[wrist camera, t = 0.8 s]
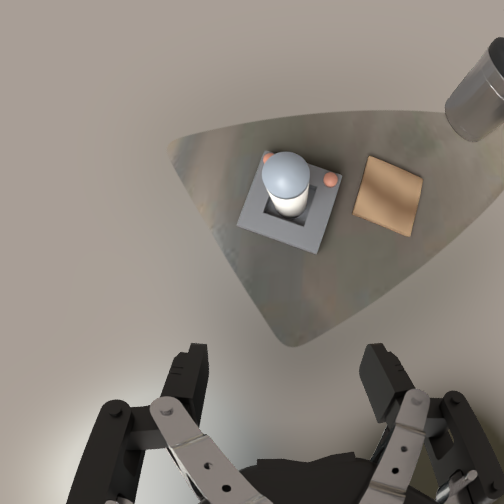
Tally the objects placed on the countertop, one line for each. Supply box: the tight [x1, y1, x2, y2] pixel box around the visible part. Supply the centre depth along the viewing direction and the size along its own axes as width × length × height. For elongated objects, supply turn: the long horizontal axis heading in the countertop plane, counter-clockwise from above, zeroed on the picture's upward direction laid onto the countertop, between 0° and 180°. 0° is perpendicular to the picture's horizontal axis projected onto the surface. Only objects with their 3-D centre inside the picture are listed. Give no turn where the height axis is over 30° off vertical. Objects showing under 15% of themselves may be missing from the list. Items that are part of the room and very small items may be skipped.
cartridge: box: [262, 152, 310, 219], centre depth 31 cm, size 4×4×13 cm
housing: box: [237, 151, 342, 255], centre depth 36 cm, size 11×11×4 cm
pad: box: [352, 156, 423, 237], centre depth 35 cm, size 9×9×1 cm
